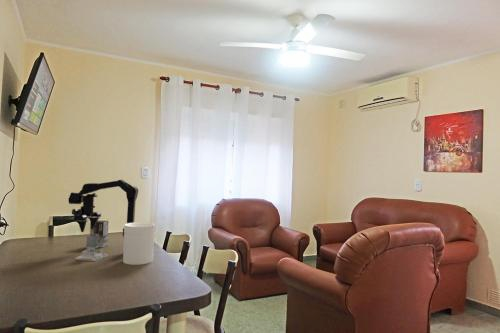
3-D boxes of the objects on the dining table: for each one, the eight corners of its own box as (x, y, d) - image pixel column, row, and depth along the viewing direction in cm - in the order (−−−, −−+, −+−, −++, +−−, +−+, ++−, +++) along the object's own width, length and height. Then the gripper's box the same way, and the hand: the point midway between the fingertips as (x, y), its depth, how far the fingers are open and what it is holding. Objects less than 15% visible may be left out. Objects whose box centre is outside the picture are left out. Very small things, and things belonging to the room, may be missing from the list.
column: (98, 247, 190) (98, 234, 190) (93, 248, 186) (94, 236, 186) (91, 246, 191) (91, 234, 191) (86, 248, 186) (86, 235, 187)
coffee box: (108, 245, 218) (109, 220, 219) (102, 247, 212) (103, 222, 212) (94, 244, 219) (95, 219, 220) (89, 246, 213) (90, 221, 213)
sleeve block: (107, 255, 194) (108, 248, 194) (95, 261, 182) (95, 253, 182) (88, 254, 195) (88, 247, 195) (75, 259, 183) (75, 252, 183)
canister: (144, 265, 176) (145, 227, 177) (116, 263, 180) (118, 225, 180) (158, 258, 192) (159, 223, 192) (133, 255, 195) (134, 221, 195)
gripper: (85, 202, 210) (84, 227, 210) (65, 205, 192) (64, 232, 191) (101, 203, 209) (100, 228, 209) (83, 206, 190) (82, 233, 190)
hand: (87, 230), depth 200 cm, fingers open, 9 cm apart
